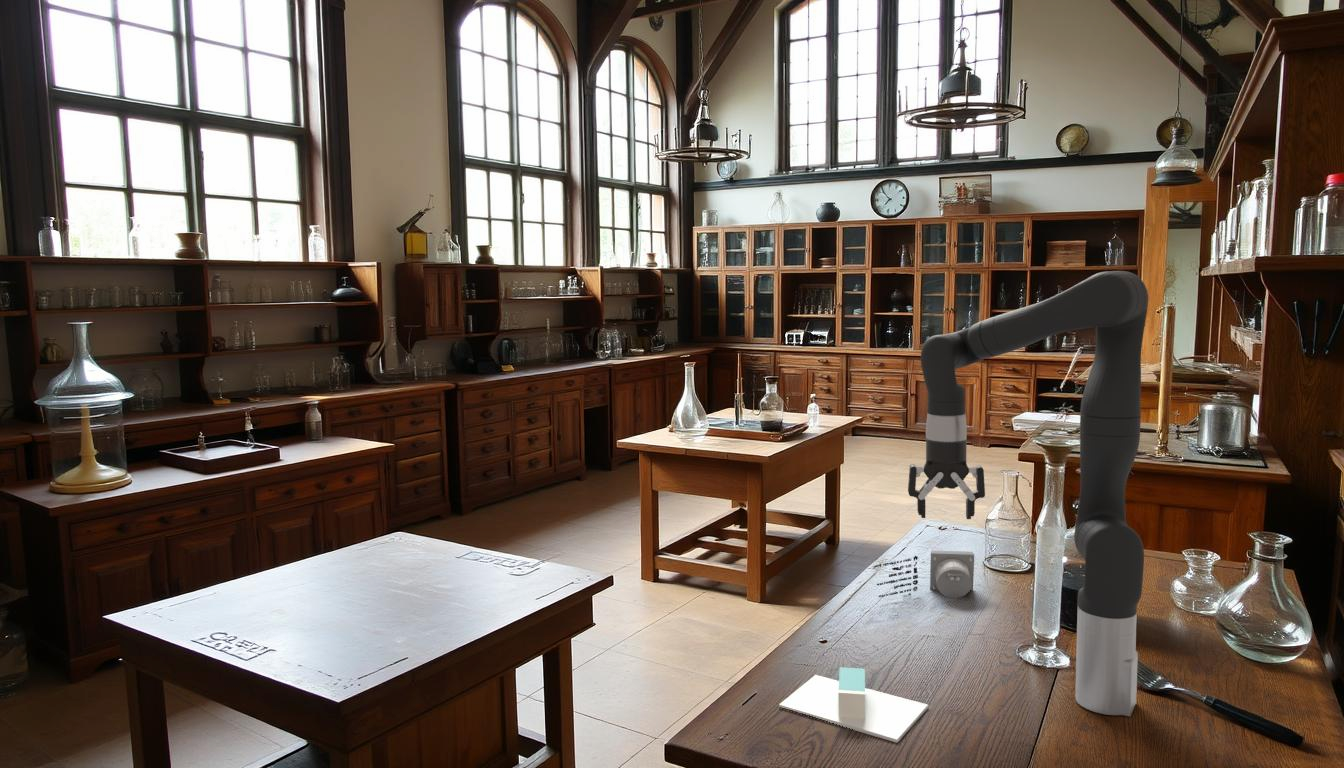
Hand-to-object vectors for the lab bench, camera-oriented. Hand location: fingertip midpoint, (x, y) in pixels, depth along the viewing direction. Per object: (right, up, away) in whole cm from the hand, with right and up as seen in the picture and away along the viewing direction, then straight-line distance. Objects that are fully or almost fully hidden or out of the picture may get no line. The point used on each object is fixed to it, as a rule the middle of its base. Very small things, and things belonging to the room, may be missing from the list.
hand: (945, 517), depth 173 cm
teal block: (-21, -28, -12) cm, 37 cm away
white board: (-22, -31, -17) cm, 42 cm away
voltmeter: (+6, -24, +35) cm, 43 cm away
